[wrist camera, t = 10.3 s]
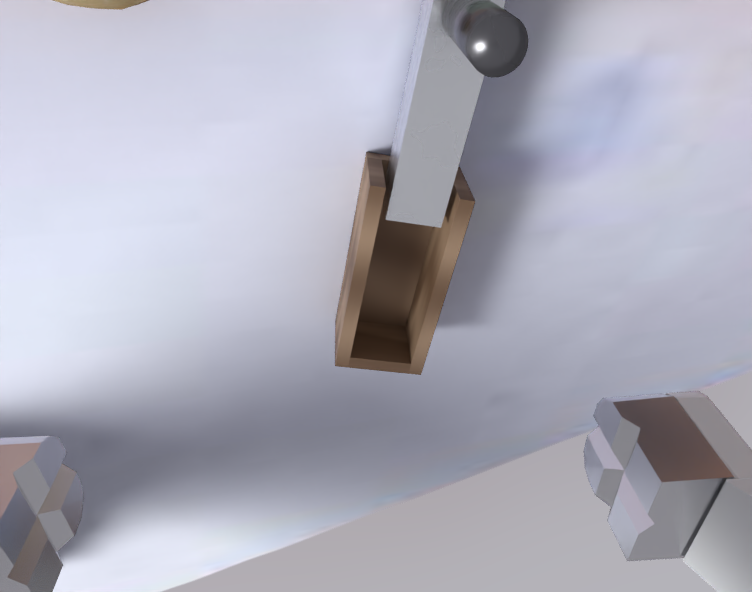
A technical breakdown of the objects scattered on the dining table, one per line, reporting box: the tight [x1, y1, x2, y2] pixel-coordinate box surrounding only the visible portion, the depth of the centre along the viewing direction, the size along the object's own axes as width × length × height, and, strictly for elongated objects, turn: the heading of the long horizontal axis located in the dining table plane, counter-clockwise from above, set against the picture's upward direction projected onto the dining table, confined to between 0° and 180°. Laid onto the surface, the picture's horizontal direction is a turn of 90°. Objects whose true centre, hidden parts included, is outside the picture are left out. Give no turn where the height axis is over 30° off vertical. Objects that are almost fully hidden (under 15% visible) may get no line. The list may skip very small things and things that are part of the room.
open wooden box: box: [335, 152, 475, 375], centre depth 33 cm, size 12×5×4 cm, turn 169°
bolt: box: [383, 0, 528, 228], centre depth 24 cm, size 16×3×9 cm, turn 169°
